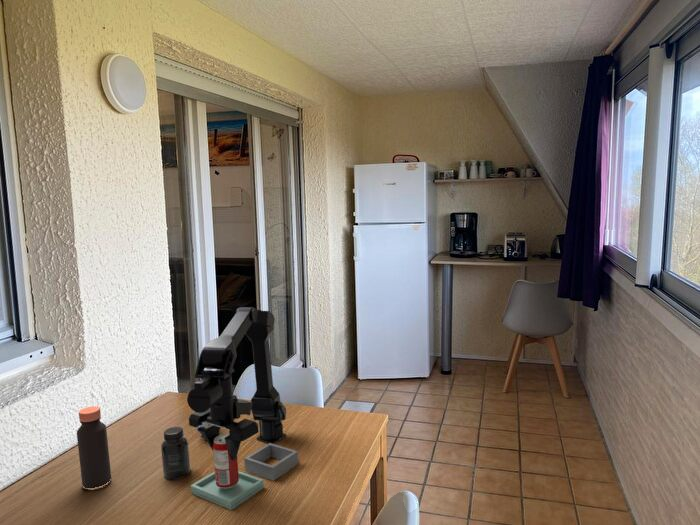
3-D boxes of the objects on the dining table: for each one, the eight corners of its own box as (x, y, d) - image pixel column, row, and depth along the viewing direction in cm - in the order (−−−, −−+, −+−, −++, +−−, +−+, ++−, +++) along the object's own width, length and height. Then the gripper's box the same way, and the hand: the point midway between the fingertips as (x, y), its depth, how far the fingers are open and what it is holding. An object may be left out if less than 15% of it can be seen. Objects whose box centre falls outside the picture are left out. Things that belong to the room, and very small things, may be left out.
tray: (191, 493, 130) (190, 485, 130) (224, 472, 139) (224, 465, 139) (231, 509, 123) (230, 501, 122) (263, 487, 132) (263, 479, 131)
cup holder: (245, 470, 140) (244, 458, 140) (270, 454, 148) (269, 442, 148) (273, 480, 135) (272, 467, 134) (298, 463, 143) (297, 451, 142)
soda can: (237, 475, 134) (234, 430, 133) (239, 486, 129) (236, 440, 128) (215, 479, 133) (211, 434, 131) (216, 491, 128) (212, 444, 126)
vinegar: (117, 478, 139) (109, 405, 137) (100, 492, 132) (92, 416, 130) (94, 476, 140) (86, 404, 138) (76, 490, 134) (68, 414, 131)
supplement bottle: (195, 468, 142) (192, 426, 141) (180, 482, 136) (176, 437, 134) (174, 465, 145) (170, 423, 143) (157, 478, 138) (154, 434, 137)
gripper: (272, 391, 129) (276, 451, 132) (219, 379, 140) (223, 435, 142) (239, 407, 120) (243, 472, 122) (185, 393, 131) (190, 452, 133)
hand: (225, 456), depth 130 cm, fingers closed on soda can, 5 cm apart
